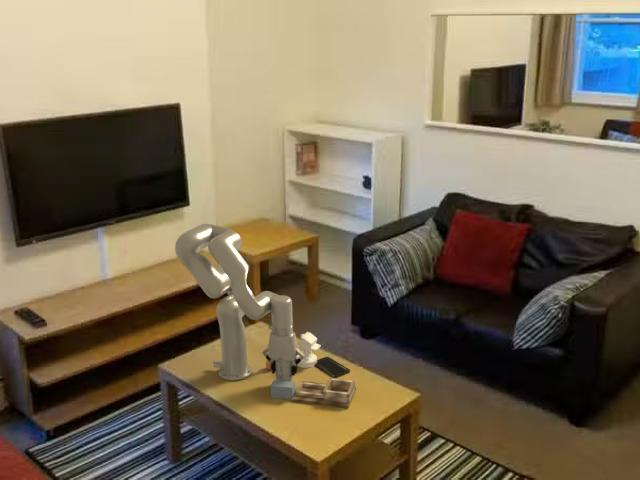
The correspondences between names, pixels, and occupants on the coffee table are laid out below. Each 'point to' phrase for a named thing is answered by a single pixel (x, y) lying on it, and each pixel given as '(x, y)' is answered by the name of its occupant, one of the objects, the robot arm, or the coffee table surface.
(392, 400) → the coffee table surface
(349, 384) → the jig
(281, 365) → the energy drink can
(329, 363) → the phone
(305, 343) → the character figurine
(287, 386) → the wing block
